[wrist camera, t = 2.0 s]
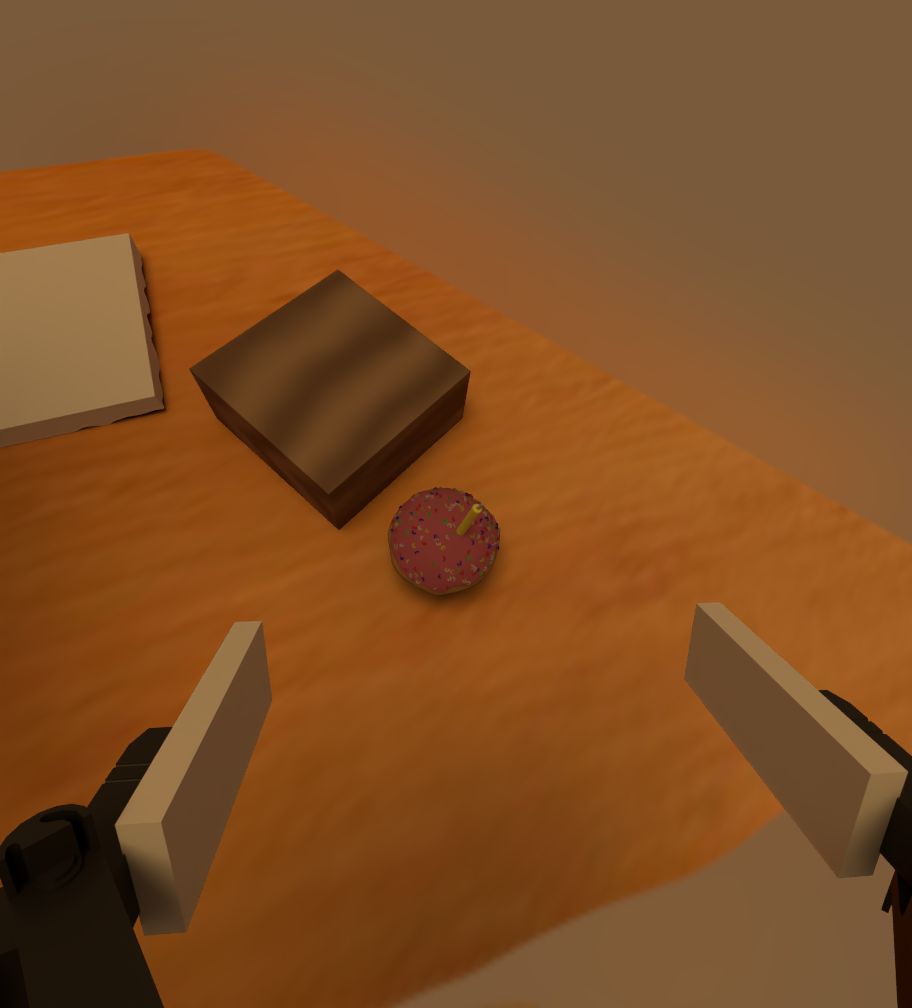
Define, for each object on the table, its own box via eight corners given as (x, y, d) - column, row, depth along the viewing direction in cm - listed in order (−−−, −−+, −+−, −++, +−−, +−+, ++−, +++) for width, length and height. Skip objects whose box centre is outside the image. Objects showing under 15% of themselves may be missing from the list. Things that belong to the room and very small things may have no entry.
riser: (216, 418, 49) (189, 368, 43) (345, 325, 55) (338, 269, 48) (339, 529, 45) (328, 494, 39) (462, 417, 51) (470, 371, 45)
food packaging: (170, 416, 50) (144, 260, 56) (154, 396, 46) (128, 233, 53) (-10, 457, 47) (-15, 286, 53) (-40, 438, 43) (-41, 259, 50)
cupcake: (495, 521, 47) (522, 452, 36) (484, 615, 43) (510, 571, 33) (398, 505, 47) (396, 432, 36) (380, 599, 43) (371, 549, 32)
